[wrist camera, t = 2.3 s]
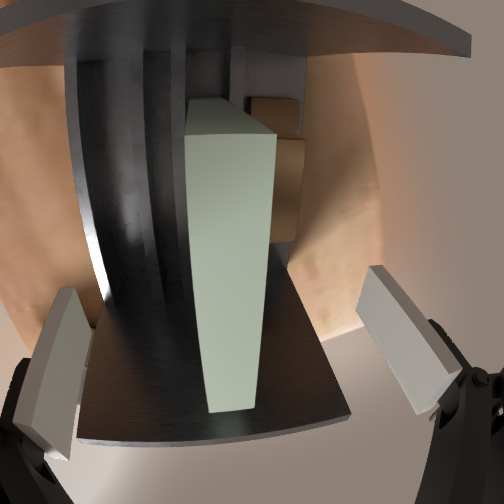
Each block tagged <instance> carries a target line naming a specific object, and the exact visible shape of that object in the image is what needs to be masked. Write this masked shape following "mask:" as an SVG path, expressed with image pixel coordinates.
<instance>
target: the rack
mask: <svg viewBox="0 0 504 504" xmlns="http://www.w3.org/2000/svg"><path fill="white" fill-rule="evenodd" d="M367 52H405V53H428V54H440V55H450V56H459V57H467V58H471V35H470V34H469V33H467V32H465V31H463V30H462V29H460V28H458V27H456V26H454V25H452V24H451V23H449V22H447V21H445V20H443V19H441V18H439V17H437V16H435V15H433V14H431V13H429V12H426V11H424V10H422V9H420V8H418V7H415V6H413V5H410V4H408V3H405V2H403V1H401V0H19V1H17V2H14V3H12V4H10V5H8V6H5V7H3V8H1V9H0V68H3V67H17V66H49V65H57V66H64V75H65V100H66V115H67V126H68V136H69V145H70V153H71V160H72V167H73V174H74V180H75V186H76V191H77V197H78V202H79V207H80V212H81V217H82V221H83V226H84V230H85V235H86V239H87V243H88V247H89V251H90V255H91V258H92V262H93V266H94V269H95V273H96V276H97V280H98V283H99V286H100V290H101V293H102V296H103V303H102V307H101V310H100V314H99V318H98V322H97V326H96V330H95V334H94V339H93V343H92V347H91V352H90V357H89V361H88V366H87V371H86V377H85V382H84V388H83V393H82V399H81V406H80V413H79V421H78V428H77V436H76V438H77V439H78V440H79V441H80V442H81V443H82V444H92V445H103V446H121V447H184V446H199V445H200V446H201V445H214V444H224V443H232V442H241V441H249V440H256V439H263V438H269V437H275V436H280V435H286V434H291V433H296V432H301V431H305V430H310V429H314V428H318V427H323V426H326V425H331V424H334V423H338V422H342V421H346V420H348V419H349V417H350V416H351V411H350V409H349V407H348V404H347V402H346V400H345V397H344V395H343V393H342V391H341V389H340V386H339V384H338V381H337V379H336V377H335V375H334V373H333V370H332V368H331V366H330V363H329V361H328V359H327V357H326V355H325V352H324V350H323V348H322V346H321V343H320V341H319V339H318V337H317V334H316V332H315V330H314V328H313V326H312V323H311V321H310V319H309V317H308V315H307V312H306V310H305V308H304V306H303V304H302V301H301V299H300V297H299V295H298V293H297V291H296V289H295V286H294V284H293V282H292V280H291V278H290V276H289V273H288V271H287V265H288V257H289V248H290V242H279V243H269V250H268V263H267V275H266V287H265V299H264V310H263V321H262V333H261V344H260V354H259V365H258V375H257V386H256V396H255V406H254V408H251V409H243V410H234V411H225V412H215V413H209V408H208V402H207V396H206V389H205V382H204V375H203V368H202V360H201V352H200V344H199V336H198V328H197V319H196V309H195V300H194V290H193V279H192V268H191V255H190V242H189V228H188V212H187V194H186V171H185V139H184V135H185V127H186V120H187V113H188V106H189V100H190V97H204V96H221V97H222V98H224V99H226V100H227V101H229V102H230V103H232V104H233V105H235V106H236V107H238V108H239V109H241V110H242V111H244V112H245V113H247V96H253V97H277V98H292V99H297V100H301V105H300V118H299V130H298V136H300V137H301V132H302V120H303V107H304V94H305V80H306V65H307V57H310V56H320V55H331V54H345V53H367Z"/></svg>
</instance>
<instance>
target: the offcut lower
mask: <svg viewBox="0 0 504 504" xmlns="http://www.w3.org/2000/svg"><path fill="white" fill-rule="evenodd" d="M300 105H301V100H297V99H292V98H277V97H253V96H247V114H248V115H250V116H251V117H253V118H254V119H256V120H257V121H259V122H260V123H262V124H263V125H264V126H266V127H267V128H269V129H270V130H272V131H273V132H274V133H276V134H277V135H298V130H299V118H300Z"/></svg>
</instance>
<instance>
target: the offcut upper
mask: <svg viewBox="0 0 504 504" xmlns="http://www.w3.org/2000/svg"><path fill="white" fill-rule="evenodd" d="M305 149H306V140H305V139H303V138H302V137H300V136H298V135H277V140H276V155H275V170H274V184H273V198H272V212H271V225H270V238H269V243H279V242H295V239H296V231H297V223H298V215H299V206H300V197H301V188H302V179H303V169H304V160H305Z"/></svg>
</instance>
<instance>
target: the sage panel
mask: <svg viewBox="0 0 504 504" xmlns="http://www.w3.org/2000/svg"><path fill="white" fill-rule="evenodd" d="M184 139H185V171H186V194H187V212H188V228H189V242H190V255H191V268H192V279H193V290H194V300H195V309H196V319H197V328H198V336H199V344H200V352H201V360H202V368H203V375H204V382H205V389H206V396H207V402H208V408H209V413H215V412H225V411H234V410H243V409H251V408H254V406H255V396H256V386H257V375H258V365H259V354H260V344H261V333H262V321H263V310H264V299H265V287H266V275H267V263H268V250H269V238H270V225H271V212H272V198H273V184H274V170H275V155H276V140H277V134H276V133H274V132H273V131H272V130H270V129H269V128H267V127H266V126H264V125H263V124H262V123H260V122H259V121H257V120H256V119H254V118H253V117H251V116H250V115H248V114H247V113H245V112H244V111H242V110H241V109H239V108H238V107H236V106H235V105H233V104H232V103H230V102H229V101H227V100H226V99H224V98H222V97H221V96H204V97H190V100H189V106H188V113H187V120H186V127H185V135H184Z"/></svg>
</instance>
